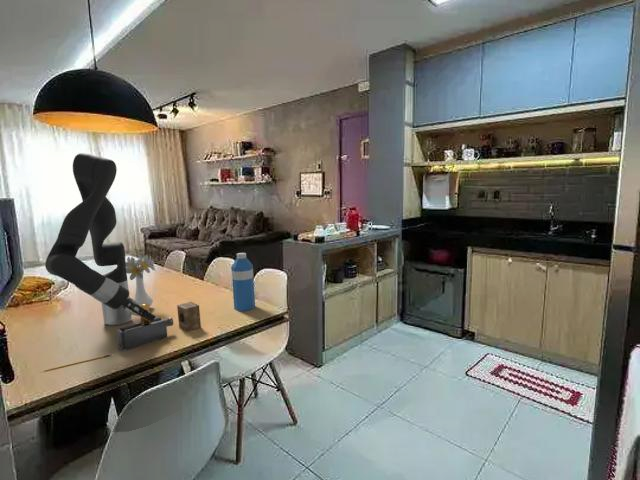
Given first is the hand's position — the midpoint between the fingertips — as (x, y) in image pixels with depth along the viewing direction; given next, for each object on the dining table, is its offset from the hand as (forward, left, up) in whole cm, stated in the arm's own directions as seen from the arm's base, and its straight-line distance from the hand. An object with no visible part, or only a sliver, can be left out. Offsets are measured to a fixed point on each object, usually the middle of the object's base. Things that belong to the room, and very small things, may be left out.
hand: (151, 317), depth 125 cm
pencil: (-16, -17, -9) cm, 25 cm away
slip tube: (-1, -1, -5) cm, 5 cm away
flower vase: (-20, +33, -8) cm, 39 cm away
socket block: (+10, +10, -8) cm, 16 cm away
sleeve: (-2, -2, -8) cm, 9 cm away
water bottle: (+27, +31, -8) cm, 42 cm away
